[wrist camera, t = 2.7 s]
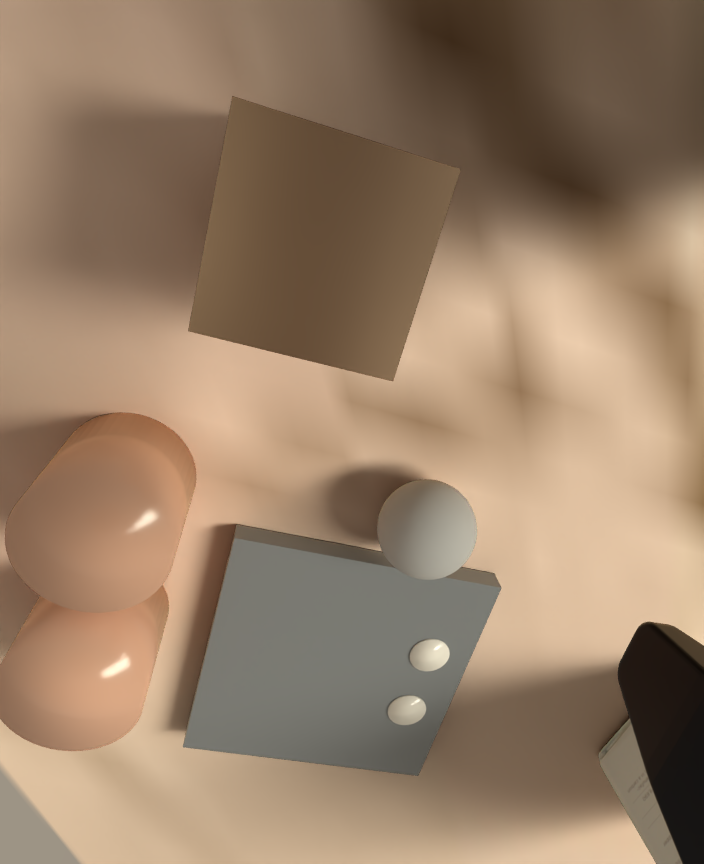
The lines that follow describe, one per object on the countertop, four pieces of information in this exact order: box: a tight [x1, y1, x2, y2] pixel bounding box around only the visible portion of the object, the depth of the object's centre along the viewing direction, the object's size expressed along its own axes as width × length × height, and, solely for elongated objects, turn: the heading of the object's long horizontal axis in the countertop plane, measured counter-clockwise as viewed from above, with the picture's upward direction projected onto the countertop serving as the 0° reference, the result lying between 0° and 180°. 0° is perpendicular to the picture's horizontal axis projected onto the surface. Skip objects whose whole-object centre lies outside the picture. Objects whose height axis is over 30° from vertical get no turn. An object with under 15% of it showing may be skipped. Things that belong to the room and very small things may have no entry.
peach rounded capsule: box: [5, 413, 196, 613], centre depth 17 cm, size 4×4×4 cm
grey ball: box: [377, 479, 477, 580], centre depth 19 cm, size 3×3×3 cm
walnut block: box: [188, 96, 461, 381], centre depth 14 cm, size 4×4×6 cm
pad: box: [183, 524, 501, 776], centre depth 22 cm, size 9×9×1 cm
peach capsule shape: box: [0, 585, 169, 751], centre depth 19 cm, size 4×4×4 cm
